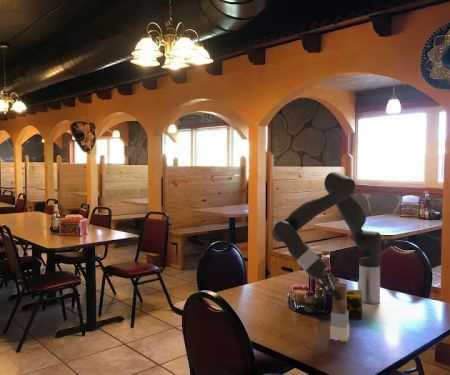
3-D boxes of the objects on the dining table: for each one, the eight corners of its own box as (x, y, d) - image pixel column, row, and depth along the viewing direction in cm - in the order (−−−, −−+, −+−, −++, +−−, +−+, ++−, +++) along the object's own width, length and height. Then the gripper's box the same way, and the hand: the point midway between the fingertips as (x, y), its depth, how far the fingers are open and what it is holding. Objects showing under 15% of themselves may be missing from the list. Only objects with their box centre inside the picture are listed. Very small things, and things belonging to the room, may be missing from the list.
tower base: (330, 339, 160) (330, 326, 160) (333, 333, 166) (333, 320, 166) (346, 342, 158) (346, 328, 158) (349, 336, 163) (349, 323, 163)
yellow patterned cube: (362, 312, 189) (362, 290, 188) (361, 320, 179) (361, 296, 179) (338, 310, 192) (338, 288, 192) (336, 318, 183) (336, 294, 182)
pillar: (332, 312, 160) (332, 285, 160) (334, 308, 164) (334, 282, 164) (345, 313, 159) (345, 287, 158) (346, 310, 163) (346, 283, 162)
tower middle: (331, 326, 160) (331, 313, 160) (333, 321, 165) (333, 308, 165) (346, 328, 158) (346, 314, 158) (348, 323, 163) (348, 310, 163)
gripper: (314, 260, 157) (346, 295, 153) (322, 253, 170) (352, 285, 166) (300, 273, 159) (331, 308, 155) (309, 265, 172) (338, 297, 168)
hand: (342, 296), depth 161 cm, fingers open, 8 cm apart
